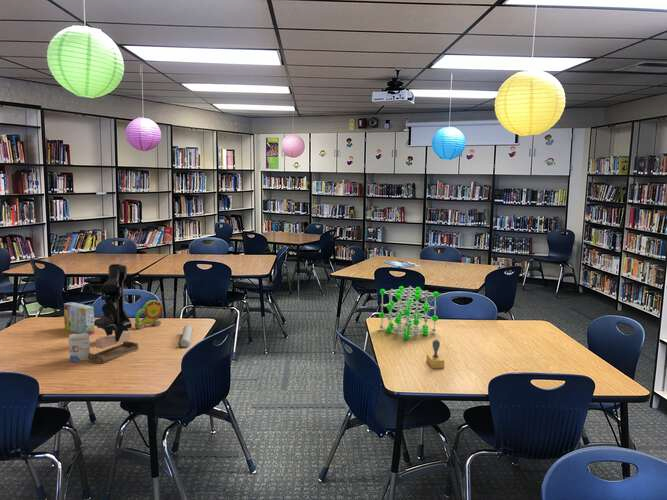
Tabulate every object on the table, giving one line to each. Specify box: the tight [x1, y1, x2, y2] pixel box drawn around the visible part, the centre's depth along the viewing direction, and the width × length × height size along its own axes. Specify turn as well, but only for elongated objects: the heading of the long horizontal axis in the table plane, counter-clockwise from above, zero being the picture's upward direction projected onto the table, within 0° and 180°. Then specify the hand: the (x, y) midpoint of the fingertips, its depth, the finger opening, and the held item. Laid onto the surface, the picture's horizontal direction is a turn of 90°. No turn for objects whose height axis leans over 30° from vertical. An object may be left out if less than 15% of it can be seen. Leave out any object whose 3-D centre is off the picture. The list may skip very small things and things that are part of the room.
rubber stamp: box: [426, 339, 445, 369], centre depth 241 cm, size 10×6×12 cm, turn 5°
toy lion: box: [134, 299, 164, 330], centre depth 297 cm, size 16×5×15 cm, turn 133°
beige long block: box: [95, 330, 131, 350], centre depth 248 cm, size 4×16×4 cm, turn 151°
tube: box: [180, 324, 194, 348], centre depth 273 cm, size 5×5×25 cm
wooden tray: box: [88, 340, 139, 365], centre depth 249 cm, size 9×22×3 cm, turn 156°
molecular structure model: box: [378, 285, 440, 341], centre depth 293 cm, size 24×25×24 cm
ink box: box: [68, 333, 91, 363], centre depth 242 cm, size 9×5×12 cm, turn 117°
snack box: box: [63, 301, 95, 335], centre depth 286 cm, size 21×6×15 cm, turn 58°
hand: (113, 341), depth 248 cm, fingers closed on beige long block, 4 cm apart
